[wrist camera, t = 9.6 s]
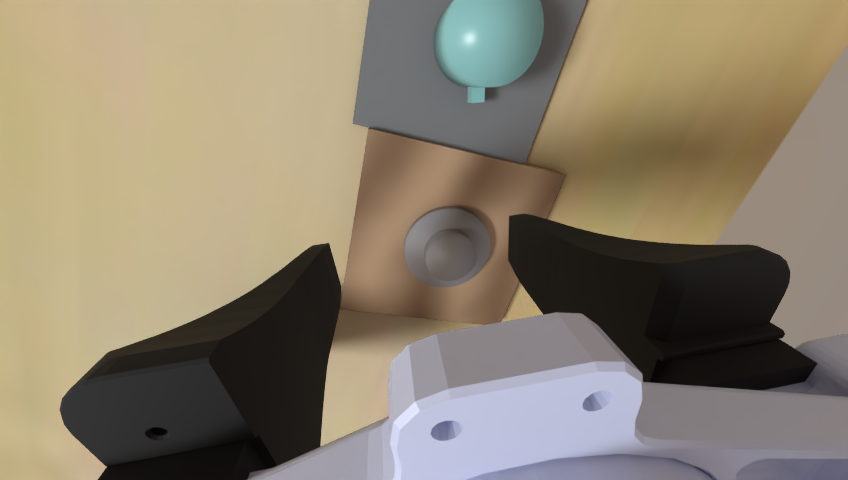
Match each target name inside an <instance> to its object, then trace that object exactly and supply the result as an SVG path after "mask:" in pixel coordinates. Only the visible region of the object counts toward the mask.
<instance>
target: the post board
mask: <svg viewBox="0 0 848 480" xmlns="http://www.w3.org/2000/svg"><path fill="white" fill-rule="evenodd" d="M565 176H566V175H563V174H561V173H559V172H556V171H552V170H547V169H543V168H539V167H535V166H531V165H527V164H525V165H524V164H520V163H515V162H511V161H507V160H503V159H499V158H494V157H490V156H486V155H482V154H478V153H474V152H469V151H465V150H461V149H457V148H453V147H449V146H444V145H440V144H436V143H432V142H428V141H423V140H419V139H415V138H411V137H407V136H403V135H398V134H394V133H390V132H386V131H382V130H377V129H373V128H369V129H368V135H367V142H366V148H365V154H364V161H363V167H362V173H361V179H360V186H359V192H358V198H357V205H356V211H355V217H354V224H353V230H352V236H351V242H350V249H349V255H348V261H347V268H346V274H345V280H344V287H343V293H342V299H341V305H340V309H342V310H352V311H361V312H370V313H380V314H389V315H398V316H407V317H417V318H426V319H435V320H445V321H454V322H463V323H472V324H482V325H487V324H493V323H499V322H501V321H502V319H503V317H504V314H505V312H506V310H507V308H508V305H509V303H510V301H511V298H512V296H513V294H514V292H515V289H516V287H517V285H518V283H519V280H518V278H517V277H516V275H515V273H514V271H513V269H512V267H511V265H510V263H509V261H508V238H509V216H511V215H518V214H530V215H534V216H538V217H541V218H544V219H547V217H548V215H549V212H550V210H551V208H552V205H553V203H554V201H555V199H556V196H557V194H558V192H559V190H560V187H561V185H562V183H563V181H564V178H565Z"/></svg>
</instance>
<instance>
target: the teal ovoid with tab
mask: <svg viewBox="0 0 848 480" xmlns="http://www.w3.org/2000/svg"><path fill="white" fill-rule="evenodd" d="M543 30H544V15H543V9H542V5H541V1H540V0H453V1H452V2H451V3H450V4H449V5H448V7H447V8H446V9H445V10H444V11H443V13H442V14H441V16H440V18H439V20H438V22H437V25H436V28H435V32H434V41H433V47H434V54H435V59H436V62H437V64H438V66H439V68H440V70H441V72H442V73H443V74H444V76H445V77H446V78H447V79H448V80H449V81H451V82H452V83H454V84H456V85H458V86H461V87H466V88H468V103H480V102H484V101H485V87H499V86H503V85H507V84H509V83H511V82H513V81H514V80H516V79H518V78H519V77H520V76H521V75H522V74H523V73H524V72H525V71H526V70H527V69H528V68H529V67H530V65H531V64H532V62H533V61H534V59H535V57H536V55H537V53H538V51H539V48H540V45H541V41H542V37H543Z"/></svg>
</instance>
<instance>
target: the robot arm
mask: <svg viewBox="0 0 848 480" xmlns="http://www.w3.org/2000/svg"><path fill="white" fill-rule="evenodd" d="M508 261H509V263H510V265H511V267H512V269H513V271H514V273H515V275H516V277H517V278H518V280H519V281H520V283H521V284H522V285H523V287H524V288H525V290H526V291H527V293H528V294H529V295H530V297H531V298H532V299H533V301H534V302H535V303H536V305H537V306H538V308H539V309H540V310H541V312H542V313H543V314H544V315H539V316H533V317H528V318H522V319H516V320H510V321H505V322H499V323H493V324H487V325H482V326H476V327H470V328H465V329H459V330H453V331H447V332H442V333H436V334H433V335H431V336H428V337H426V338H423V339H421V340H418V341H415V342H413V343H410V344H408V345H407V346H406V347H405V348H404V350H403V351H402V352H401V353H400V354H399V355H398V356H397V357H396V358H395V359H394V360H393V361H392V362H391V367H390V374H389V381H388V392H389V417H386V418H384V419H382V420H380V421H377V422H375V423H373V424H371V425H368V426H366V427H364V428H362V429H359V430H357V431H355V432H353V433H350V434H348V435H346V436H344V437H341V438H339V439H337V440H335V441H332V442H330V443H328V444H326V445H323V446H321V447H320V442H321V427H322V413H323V401H324V390H325V381H326V372H327V364H328V358H329V353H330V349H331V345H332V340H333V336H334V332H335V327H336V323H337V318H338V314H339V309H340V298H341V284H340V281H339V277H338V274H337V270H336V266H335V263H334V259H333V256H332V252H331V249H330V245H329V243H326V244H320V245H313V246H311V247H310V248H308V249H307V250H305V251H304V252H303V253H301V254H300V255H299V256H298V257H296V258H295V259H294V260H293V261H291V262H290V263H289V264H288V265H286V266H285V267H284V268H283V269H281V270H280V271H279V272H277V273H276V274H274V275H273V276H272V277H270V278H269V279H267V280H266V281H265V282H263V283H262V284H260V285H259V286H257V287H256V288H254V289H253V290H251V291H250V292H248V293H246V294H245V295H243V296H241V297H239V298H238V299H236V300H234V301H232V302H231V303H229V304H227V305H225V306H223V307H221V308H219V309H217V310H215V311H213V312H211V313H209V314H207V315H205V316H203V317H200V318H198V319H196V320H194V321H191V322H189V323H187V324H184V325H182V326H179V327H177V328H175V329H172V330H170V331H167V332H165V333H162V334H159V335H157V336H154V337H151V338H148V339H145V340H142V341H139V342H137V343H134V344H131V345H128V346H125V347H122V348H119V349H116V350H113V351H110V352H108V353H107V354H106V355H105V356H104V357H103V358H102V359H100V360H99V361H98V362H97V363H96V364H95V365H94V366H93V367H92V368H91V369H90V370H89V371H88V372H87V373H86V374H85V375H84V376H83V377H82V378H81V379H80V380H79V381H78V382H77V383H76V384H75V385H74V386H73V387H72V388H71V389H70V390H69V391H68V392H67V393H66V395H65V396H64V397H63V398H62V402H61V406H60V412H61V416H62V419H63V422H64V425H65V426H66V427H67V429H68V430H69V431H70V432H71V434H72V435H73V436H74V437H75V438H76V439H77V440H79V441H80V442H81V443H82V444H83V445H84V446H85V447H86V448H87V449H88V450H89V451H90V452H91V453H92V454H93V455H95V456H96V457H97V458H98V459H99V460H100V461H101V462H102V463H103V464H104V465H105V466H107V468H106V469H105V471H104V472H103V473H102V475H101V476H100V477H99V479H98V480H848V334H842V335H837V336H832V337H827V338H821V339H816V340H811V341H807V342H805V343H803V344H801V345H799V346H798V347H796V348H795V349H794V348H792V347H791V346H789V345H788V344H786V343H785V342H783V341H781V340H780V339H779V338H783V336H784V335H785V333H784V331H783V330H782V329H780V328H779V327H777V326H775V325H774V324H772V323H770V320H771V318H772V316H773V314H774V313H775V311H776V309H777V307H778V305H779V303H780V302H781V300H782V298H783V296H784V294H785V292H786V289H787V287H788V284H789V280H790V270H789V267H788V264H787V261H786V260H784V259H783V258H782V257H781V256H780V255H778V254H775V253H773V252H770V251H768V250H765V249H763V248H761V247H758V246H754V245H690V244H670V243H657V242H648V241H639V240H631V239H624V238H619V237H613V236H608V235H602V234H598V233H593V232H590V231H586V230H582V229H578V228H574V227H571V226H567V225H564V224H561V223H557V222H554V221H551V220H548V219H544V218H541V217H538V216H534V215H530V214H518V215H511V216H509V238H508Z"/></svg>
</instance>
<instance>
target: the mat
mask: <svg viewBox="0 0 848 480" xmlns="http://www.w3.org/2000/svg"><path fill="white" fill-rule="evenodd" d="M452 1H453V0H370V2H369V10H368V17H367V24H366V31H365V39H364V46H363V53H362V60H361V68H360V75H359V82H358V90H357V97H356V104H355V111H354V119H353V124H357V125H361V126H365V127H369V128H373V129H377V130H382V131H386V132H390V133H394V134H398V135H403V136H407V137H411V138H415V139H419V140H423V141H428V142H432V143H436V144H440V145H444V146H449V147H453V148H457V149H461V150H465V151H469V152H474V153H478V154H482V155H486V156H490V157H494V158H499V159H503V160H507V161H511V162H515V163H520V164H524V165H525V162H526V160H527V157H528V154H529V152H530V149H531V146H532V144H533V141H534V139H535V136H536V133H537V131H538V128H539V125H540V123H541V120H542V117H543V115H544V112H545V109H546V107H547V104H548V102H549V99H550V96H551V94H552V91H553V88H554V86H555V83H556V80H557V78H558V75H559V72H560V70H561V67H562V65H563V62H564V59H565V57H566V54H567V51H568V49H569V46H570V43H571V41H572V38H573V35H574V33H575V30H576V28H577V25H578V22H579V20H580V17H581V14H582V12H583V9H584V6H585V4H586V1H587V0H540V1H541V5H542V9H543V15H544V30H543V37H542V41H541V45H540V48H539V51H538V53H537V55H536V57H535V59H534V61H533V62H532V64H531V65H530V67H529V68H528V69H527V70H526V71H525V72H524V73H523V74H522V75H521V76H520V77H519V78H518V79H516V80H514V81H513V82H511V83H509V84H507V85H503V86H499V87H485V101H484V102H480V103H468V88H466V87H461V86H458V85H456V84H454V83H452V82H451V81H449V80H448V79H447V78H446V77H445V76H444V74H443V73H442V72H441V70H440V68H439V66H438V64H437V62H436V59H435V54H434V47H433V41H434V32H435V28H436V25H437V22H438V20H439V18H440V16H441V14H442V13H443V11H444V10H445V9H446V8H447V7H448V5H449V4H450V3H451V2H452Z"/></svg>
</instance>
